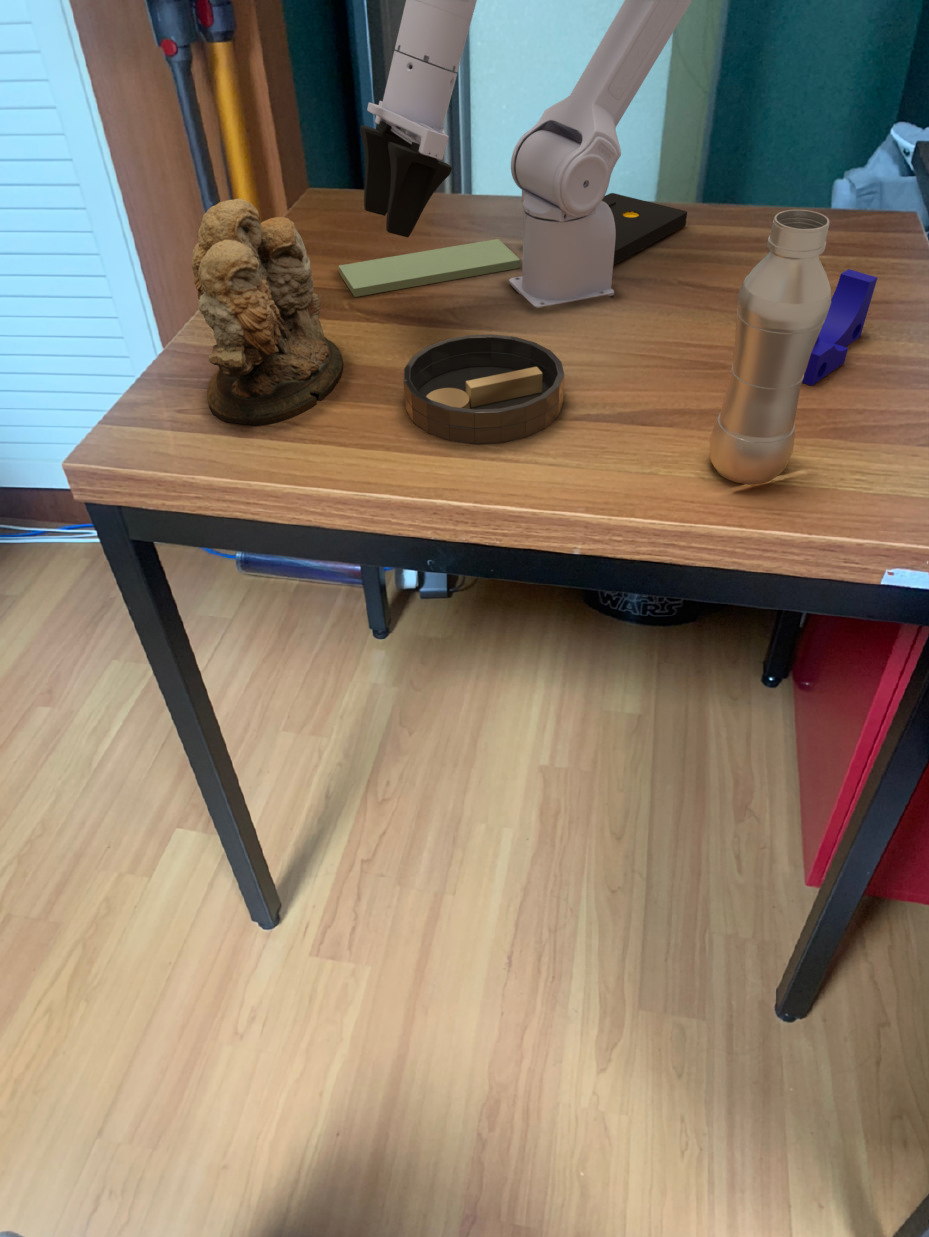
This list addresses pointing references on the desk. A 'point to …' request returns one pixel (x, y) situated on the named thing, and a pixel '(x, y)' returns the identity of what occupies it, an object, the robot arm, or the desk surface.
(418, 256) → the board
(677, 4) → the robot arm
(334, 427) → the desk surface
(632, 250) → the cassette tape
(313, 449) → the desk surface
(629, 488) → the desk surface
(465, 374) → the pan
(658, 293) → the desk surface
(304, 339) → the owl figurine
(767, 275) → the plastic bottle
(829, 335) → the blue curved bracket
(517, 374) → the wooden paddle
